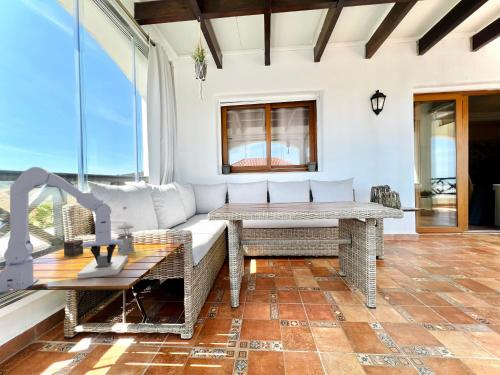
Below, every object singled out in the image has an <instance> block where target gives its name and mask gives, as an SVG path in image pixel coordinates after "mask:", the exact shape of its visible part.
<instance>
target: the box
mask: <svg viewBox="0 0 500 375" xmlns="http://www.w3.org/2000/svg"><path fill="white" fill-rule="evenodd" d="M83 243H84V240H83V239H73V240H67V241H64V242H63V254H64V257H76V256H78V255H81V254H84V248H83Z"/></svg>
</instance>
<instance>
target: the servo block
mask: <svg viewBox="0 0 500 375" xmlns="http://www.w3.org/2000/svg"><path fill="white" fill-rule="evenodd" d="M97 262H98V268H104V267H108V266H109V265H110V263H108V253H107V252H105V253H103V252H102V253H101V252H100V255H99V256H98V257H97Z"/></svg>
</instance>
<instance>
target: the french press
mask: <svg viewBox="0 0 500 375" xmlns="http://www.w3.org/2000/svg"><path fill="white" fill-rule="evenodd" d="M122 209H123V210H127V209H128V208H127V206H123V207H122ZM133 228H134V226H133V225H132V224H128V223H124V224H121V225H118V226H117V227H116V229H117V230H124V233H123V232H122V233H120V234H118V235H117V236H118V237H117V238H116V240H123V244H122V245H116V247H117V251H116V252H115V255H119V256H126V255H130V254H133V253H132V252H134V251H135V250H136V249H135V247H134V244H135V243H134V236H133V233H132V232H129V229H133ZM127 232H128V233H127ZM135 252H136V251H135ZM135 252H134V253H135ZM129 253H130V254H129Z"/></svg>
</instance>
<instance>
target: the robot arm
mask: <svg viewBox="0 0 500 375" xmlns="http://www.w3.org/2000/svg"><path fill="white" fill-rule="evenodd" d="M45 184H46V185H49V186H54V187H57V188H59V189H61V190H62V191H64V192H66V193H67V194H69V195H71V196H72V197H74V198H76V199H75V200H76V203H77V204H78V205H80V206H82V207H83V208H85V209H87V210H88V211H90V212H94V214H95V222H94V226H95V228H94V230H95V240H94V241H87V242H83V249H87V248H90V249H89V250H90V252H91V254H92V255H93V257H94V259H96V262H97V257H98V256H99V255H100V254H101V247H106V253H108V263H110V262H111V258H112V257H113V254H114V251H115V248H116V247H117V245H122V244H123V240H117V239H112V221H111V214H112V208H111V207H110V206H109V204H107V203H106V202H105V201H104V200H103V199H100V198H98V197H96V196H95V195H94V193H93V192H89V191H81V190H79V189H78V188H77V187H75V186H74V185H72V184H71V183H70V182H68V181H66V180H65V179H64V178H63V177H61V176H59V175H57V174H55V173H53V172H50V171H49V170H48V169H45V168H43V167H41V166H33V167H30V168H28V169H26V170H24V171H22V172H21V173H20V175H19V177H17V178H16V180H15V181H14V182H13V183H12V184H11V185H10V189H9V222H10V223H9V229H10V230H9V234H10V235H9V239H8V242H7V248H6V249H5V252H4V254H3V257H4V260H5V266H4V268H3V269H1V270H0V293H6V292H15V291H24V290H26V289H28V288H29V287H30V286H32V285H33V284H35V283H36V282H38V281H39V280H40V278H39V277H37V278H34V257H33V256H32V255H31V254H32V253H33V252H34V245H33V243H32V242H31V236H30V233H29V231H30V228H29V227H30V226H29V225H30V224H29V219H30V218H29V213H30V212H29V210H30V209H29V194H30V193H29V192H31V191H33V190H34V189H36V188H37V187H40V186H42V185H45ZM104 202H105V203H104ZM97 264H98V262H97ZM10 289H13V290H10Z"/></svg>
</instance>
